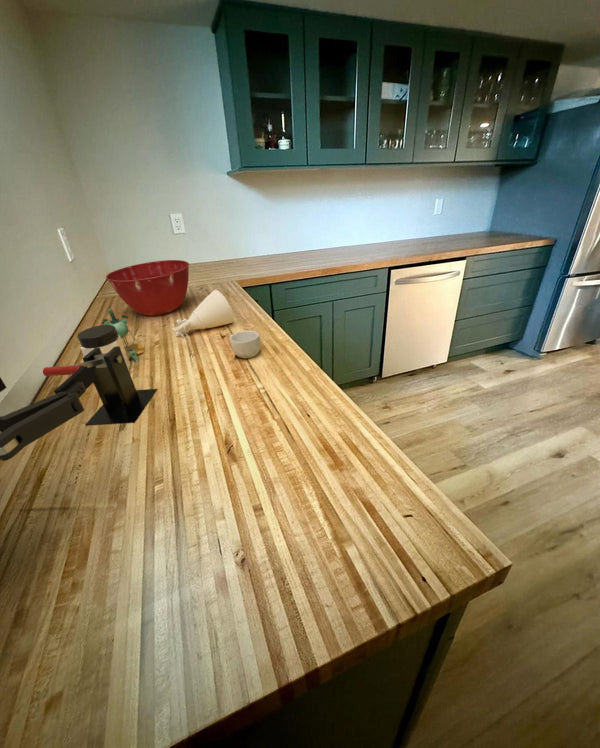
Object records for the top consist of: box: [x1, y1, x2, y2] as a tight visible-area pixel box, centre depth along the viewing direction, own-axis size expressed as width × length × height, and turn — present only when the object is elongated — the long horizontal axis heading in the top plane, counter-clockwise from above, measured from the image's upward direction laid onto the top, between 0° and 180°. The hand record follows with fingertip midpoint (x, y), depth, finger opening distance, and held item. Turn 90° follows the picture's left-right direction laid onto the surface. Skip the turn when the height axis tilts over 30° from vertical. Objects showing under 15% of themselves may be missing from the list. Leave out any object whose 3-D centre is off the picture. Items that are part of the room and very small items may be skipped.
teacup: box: [229, 329, 261, 359], centre depth 89 cm, size 10×8×5 cm
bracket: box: [82, 346, 158, 427], centre depth 68 cm, size 12×10×14 cm
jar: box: [76, 324, 131, 370], centre depth 82 cm, size 9×8×12 cm
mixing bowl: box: [105, 259, 190, 317], centre depth 125 cm, size 28×28×16 cm
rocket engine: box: [172, 289, 235, 338], centre depth 105 cm, size 12×12×18 cm
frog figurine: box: [101, 308, 145, 363], centre depth 92 cm, size 10×18×15 cm, turn 27°
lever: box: [42, 353, 107, 377], centre depth 60 cm, size 13×6×2 cm, turn 179°
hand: (43, 377), depth 50 cm, fingers open, 13 cm apart
